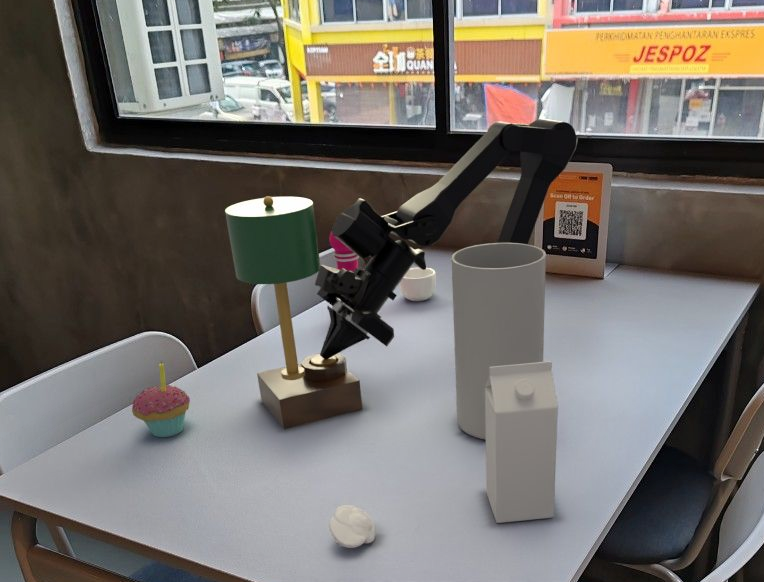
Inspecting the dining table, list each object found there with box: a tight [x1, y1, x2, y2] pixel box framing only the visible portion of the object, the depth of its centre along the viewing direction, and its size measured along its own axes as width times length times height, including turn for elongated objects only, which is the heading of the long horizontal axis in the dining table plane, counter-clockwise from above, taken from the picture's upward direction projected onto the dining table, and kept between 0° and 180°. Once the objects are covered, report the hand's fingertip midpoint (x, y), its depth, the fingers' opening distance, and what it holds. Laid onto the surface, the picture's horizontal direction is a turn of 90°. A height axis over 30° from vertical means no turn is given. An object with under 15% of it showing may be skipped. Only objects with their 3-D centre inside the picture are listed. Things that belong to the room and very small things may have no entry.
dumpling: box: [328, 504, 377, 549], centre depth 98 cm, size 7×5×4 cm
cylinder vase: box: [451, 242, 547, 441], centre depth 116 cm, size 12×12×25 cm
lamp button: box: [311, 355, 336, 367], centre depth 130 cm, size 4×4×2 cm
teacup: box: [399, 267, 437, 302], centre depth 175 cm, size 10×8×5 cm
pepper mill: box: [328, 230, 360, 272], centre depth 162 cm, size 7×7×20 cm
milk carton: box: [485, 360, 559, 524], centre depth 98 cm, size 7×7×19 cm
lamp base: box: [256, 352, 363, 430], centre depth 131 cm, size 13×12×7 cm
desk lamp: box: [224, 195, 321, 380], centre depth 119 cm, size 12×12×26 cm
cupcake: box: [131, 358, 191, 438], centre depth 125 cm, size 9×8×12 cm
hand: (322, 357), depth 130 cm, fingers closed, pressing on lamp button
